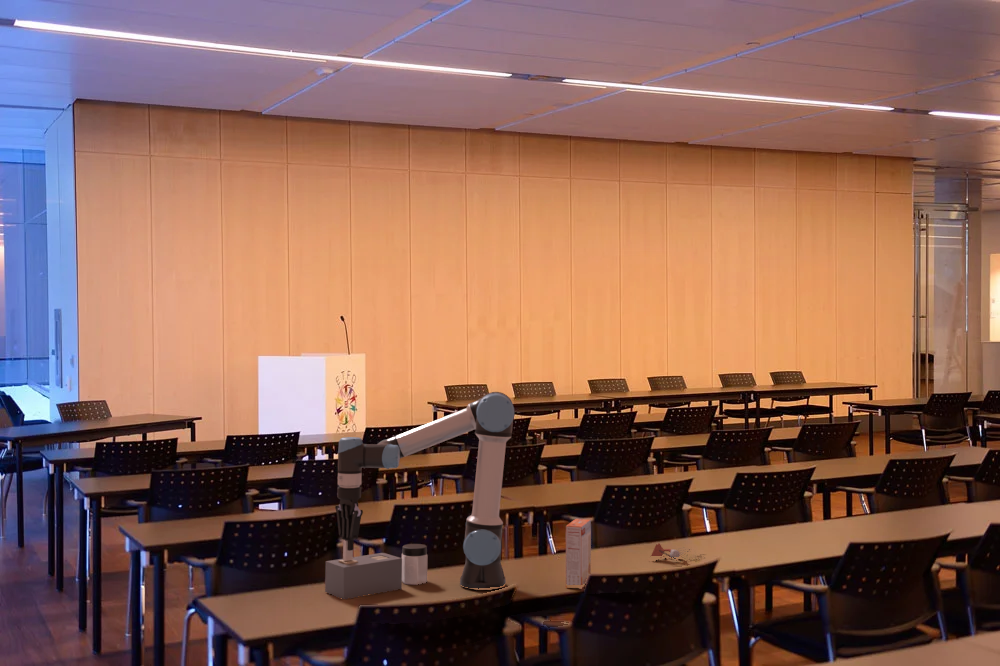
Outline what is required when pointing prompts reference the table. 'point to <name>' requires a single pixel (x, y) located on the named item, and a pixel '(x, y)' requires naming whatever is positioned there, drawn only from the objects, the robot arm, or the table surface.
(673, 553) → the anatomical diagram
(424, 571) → the jar
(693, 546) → the table surface
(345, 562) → the tan wooden block
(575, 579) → the cracker box
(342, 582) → the peg block
